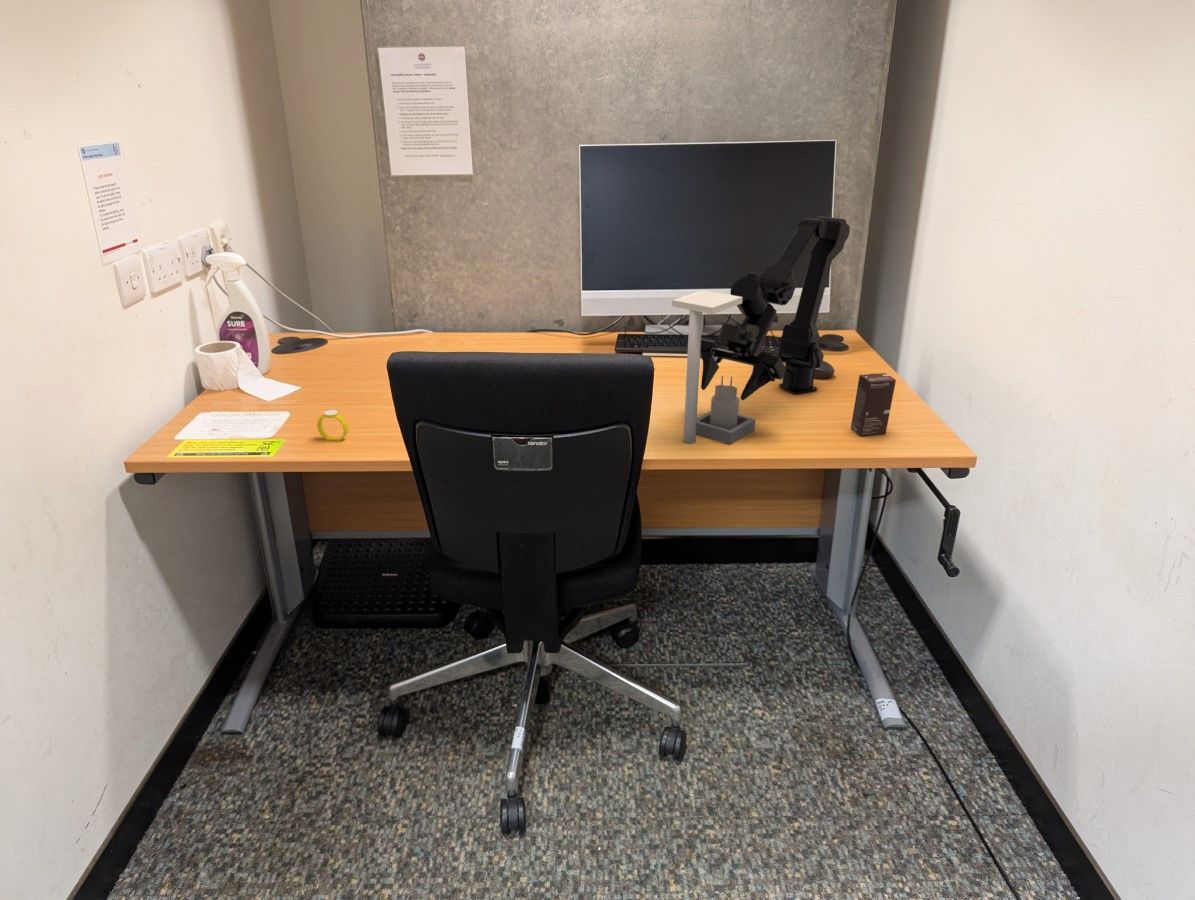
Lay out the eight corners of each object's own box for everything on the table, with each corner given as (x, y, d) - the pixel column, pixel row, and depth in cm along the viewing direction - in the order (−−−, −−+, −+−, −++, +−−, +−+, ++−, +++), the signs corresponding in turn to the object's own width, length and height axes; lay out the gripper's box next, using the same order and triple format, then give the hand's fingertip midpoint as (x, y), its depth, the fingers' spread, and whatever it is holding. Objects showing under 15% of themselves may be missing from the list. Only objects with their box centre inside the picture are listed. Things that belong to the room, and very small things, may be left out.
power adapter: (735, 435, 164) (739, 379, 159) (708, 432, 166) (712, 377, 161) (737, 429, 167) (741, 374, 162) (711, 426, 168) (715, 372, 163)
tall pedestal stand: (706, 416, 173) (714, 286, 162) (754, 430, 167) (766, 295, 155) (666, 437, 163) (671, 300, 151) (716, 453, 156) (725, 310, 145)
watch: (350, 439, 163) (349, 411, 161) (344, 444, 161) (342, 417, 158) (323, 434, 164) (321, 407, 162) (316, 440, 162) (314, 412, 159)
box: (861, 437, 163) (869, 381, 158) (849, 429, 167) (857, 374, 162) (888, 434, 164) (897, 379, 159) (876, 426, 168) (884, 371, 163)
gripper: (701, 299, 164) (668, 364, 161) (784, 314, 153) (750, 385, 150) (719, 328, 172) (688, 391, 169) (799, 345, 162) (767, 412, 158)
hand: (721, 394), depth 161 cm, fingers open, 9 cm apart
